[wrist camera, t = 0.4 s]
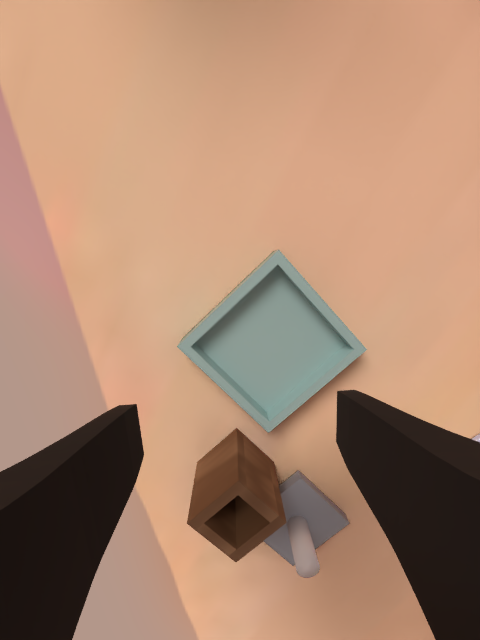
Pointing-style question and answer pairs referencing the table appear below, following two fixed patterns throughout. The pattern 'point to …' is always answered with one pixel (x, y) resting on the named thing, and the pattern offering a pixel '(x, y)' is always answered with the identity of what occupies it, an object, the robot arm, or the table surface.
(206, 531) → the walnut ring block
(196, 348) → the tray
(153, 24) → the table surface
